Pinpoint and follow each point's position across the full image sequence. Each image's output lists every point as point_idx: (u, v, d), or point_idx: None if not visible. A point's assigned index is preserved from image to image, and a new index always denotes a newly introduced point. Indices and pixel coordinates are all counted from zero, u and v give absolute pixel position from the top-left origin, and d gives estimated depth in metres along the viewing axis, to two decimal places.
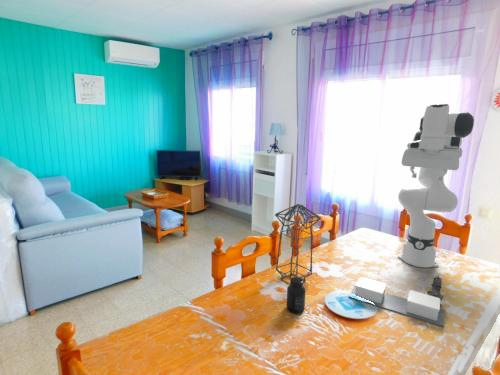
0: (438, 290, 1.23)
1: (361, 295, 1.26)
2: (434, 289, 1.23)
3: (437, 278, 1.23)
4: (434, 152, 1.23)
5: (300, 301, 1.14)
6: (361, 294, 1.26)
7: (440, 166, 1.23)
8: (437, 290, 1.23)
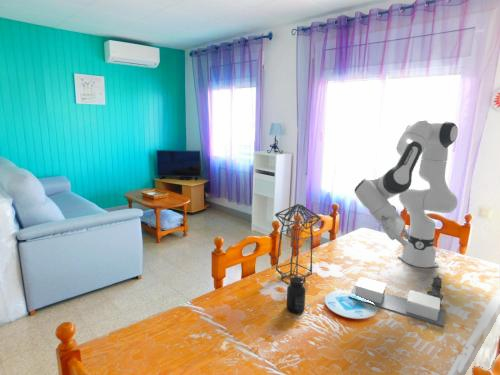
0: (438, 290, 1.23)
1: (361, 295, 1.26)
2: (434, 289, 1.23)
3: (437, 278, 1.23)
4: None
5: (300, 301, 1.14)
6: (361, 294, 1.26)
7: None
8: (437, 290, 1.23)
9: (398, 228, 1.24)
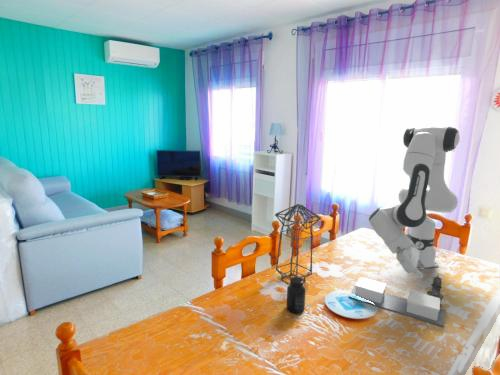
0: (438, 290, 1.23)
1: (361, 295, 1.26)
2: (434, 289, 1.23)
3: (437, 278, 1.23)
4: None
5: (300, 301, 1.14)
6: (361, 294, 1.26)
7: None
8: (437, 290, 1.23)
9: (414, 260, 1.23)
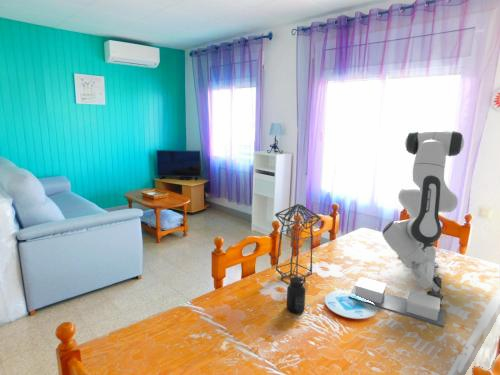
0: None
1: (361, 295, 1.26)
2: None
3: (437, 278, 1.23)
4: None
5: (300, 301, 1.14)
6: (361, 294, 1.26)
7: None
8: None
9: (429, 275, 1.20)
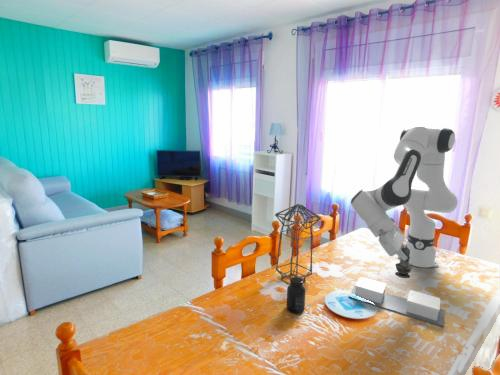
0: (406, 261, 1.18)
1: (361, 295, 1.26)
2: (403, 260, 1.19)
3: (405, 248, 1.18)
4: None
5: (300, 301, 1.14)
6: (361, 294, 1.26)
7: None
8: (405, 261, 1.18)
9: (397, 243, 1.16)
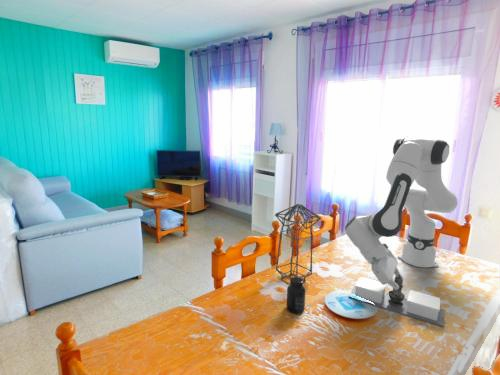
0: (399, 290, 1.21)
1: (361, 295, 1.26)
2: None
3: (398, 277, 1.21)
4: None
5: (300, 301, 1.14)
6: (361, 294, 1.26)
7: None
8: (398, 290, 1.21)
9: (389, 271, 1.18)
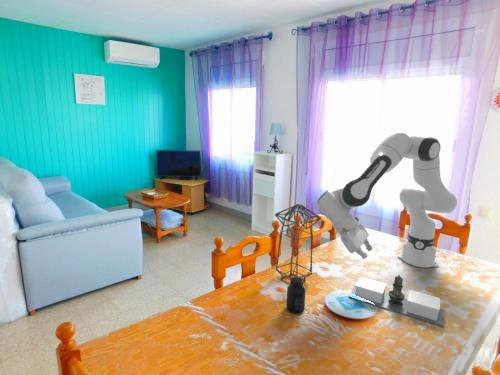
0: (399, 290, 1.21)
1: (361, 295, 1.26)
2: (395, 288, 1.21)
3: (398, 277, 1.21)
4: None
5: (300, 301, 1.14)
6: (361, 294, 1.26)
7: None
8: (398, 290, 1.21)
9: (358, 241, 1.23)
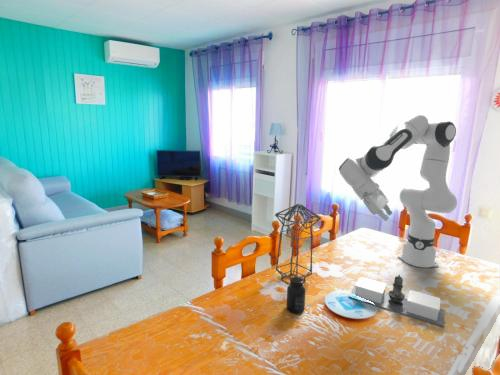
0: (399, 290, 1.21)
1: (361, 295, 1.26)
2: (395, 288, 1.21)
3: (398, 277, 1.21)
4: None
5: (300, 301, 1.14)
6: (361, 294, 1.26)
7: None
8: (398, 290, 1.21)
9: (380, 204, 1.28)
